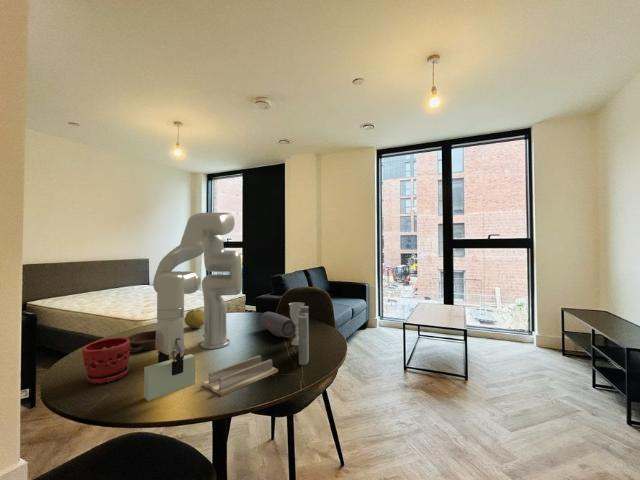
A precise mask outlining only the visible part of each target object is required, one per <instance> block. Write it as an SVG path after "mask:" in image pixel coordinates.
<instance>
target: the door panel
mask: <svg viewBox="0 0 640 480" xmlns="http://www.w3.org/2000/svg"><path fill="white" fill-rule="evenodd" d="M172 361H173V358H171V359H169V360H168V361H164V362H161V363H158V362H157V363H155V364H151V365H147V366H144V367H143V369H144V371H143V373H144V374H143V377H144V378H143V379H144V381H143V383H144V384H143V388H144V390H143V391H144V392H143V396H144V399H145V400H146V401H147V402H150V401H153V400H155V399H159V398H161V397H163V396H166V395H168V394H169V395H170V394H171V393H174V392H177V391H179V390H183V389H185V388H187V387H190V386H191V387H192V386H193V385H195V384H196V355H194V354H191V353H189V354H185V355H184V360H183V373H180V374H177V375H174V376H173V375H172Z"/></svg>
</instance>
